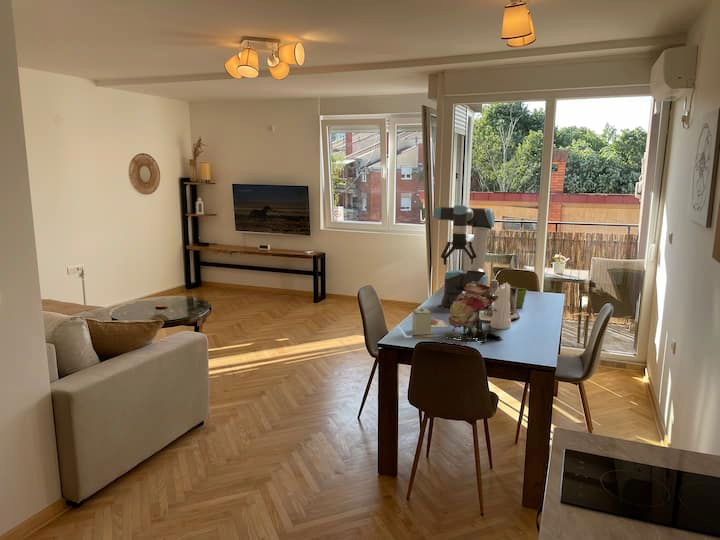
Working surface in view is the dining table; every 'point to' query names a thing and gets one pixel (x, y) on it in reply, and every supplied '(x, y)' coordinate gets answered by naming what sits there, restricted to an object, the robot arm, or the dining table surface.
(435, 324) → the cream plate
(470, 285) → the rose bouquet
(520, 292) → the plant pot
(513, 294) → the coffee box
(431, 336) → the tan mat
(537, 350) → the dining table surface
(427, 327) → the sage cover
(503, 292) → the decorative vase
